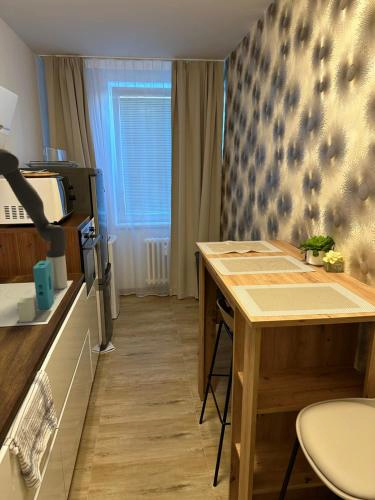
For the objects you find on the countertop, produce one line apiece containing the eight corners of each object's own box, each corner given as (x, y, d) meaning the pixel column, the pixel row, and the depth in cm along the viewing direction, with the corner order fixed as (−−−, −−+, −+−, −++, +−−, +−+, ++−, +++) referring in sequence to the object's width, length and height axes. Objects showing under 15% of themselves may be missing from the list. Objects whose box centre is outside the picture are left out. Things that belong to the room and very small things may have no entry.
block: (48, 310, 156) (44, 267, 151) (37, 311, 155) (32, 268, 151) (55, 300, 168) (51, 260, 163) (44, 301, 167) (39, 260, 162)
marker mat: (24, 312, 155) (24, 311, 155) (52, 310, 156) (51, 310, 156) (16, 323, 144) (16, 322, 144) (45, 321, 146) (45, 321, 146)
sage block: (23, 316, 149) (21, 298, 147) (35, 316, 150) (33, 297, 148) (19, 321, 145) (17, 302, 143) (32, 321, 145) (29, 302, 143)
